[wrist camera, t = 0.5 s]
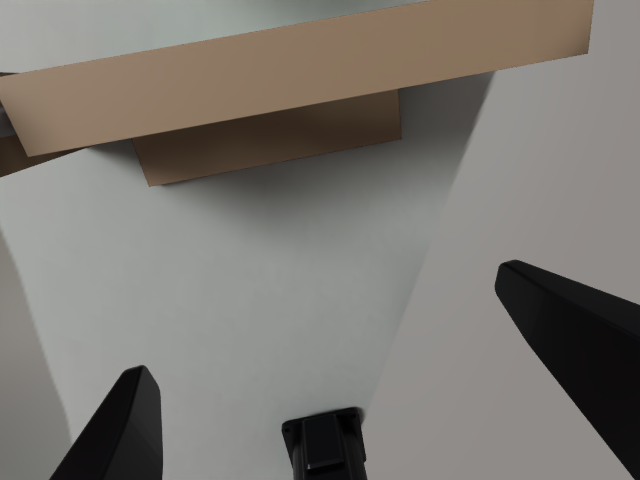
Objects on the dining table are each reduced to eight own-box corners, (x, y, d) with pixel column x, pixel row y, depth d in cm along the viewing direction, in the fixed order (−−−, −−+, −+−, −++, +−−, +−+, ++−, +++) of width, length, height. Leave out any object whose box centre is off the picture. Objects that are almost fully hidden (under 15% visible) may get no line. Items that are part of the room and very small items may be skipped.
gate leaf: (153, 119, 20) (28, 156, 10) (140, 80, 20) (-11, 78, 9) (435, 67, 21) (587, 53, 11) (434, 27, 20) (597, -30, 10)
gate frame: (397, 137, 23) (556, 209, 10) (96, 194, 22) (-157, 350, 9) (388, 25, 20) (585, -74, 7) (50, 86, 20) (-383, 94, 7)
